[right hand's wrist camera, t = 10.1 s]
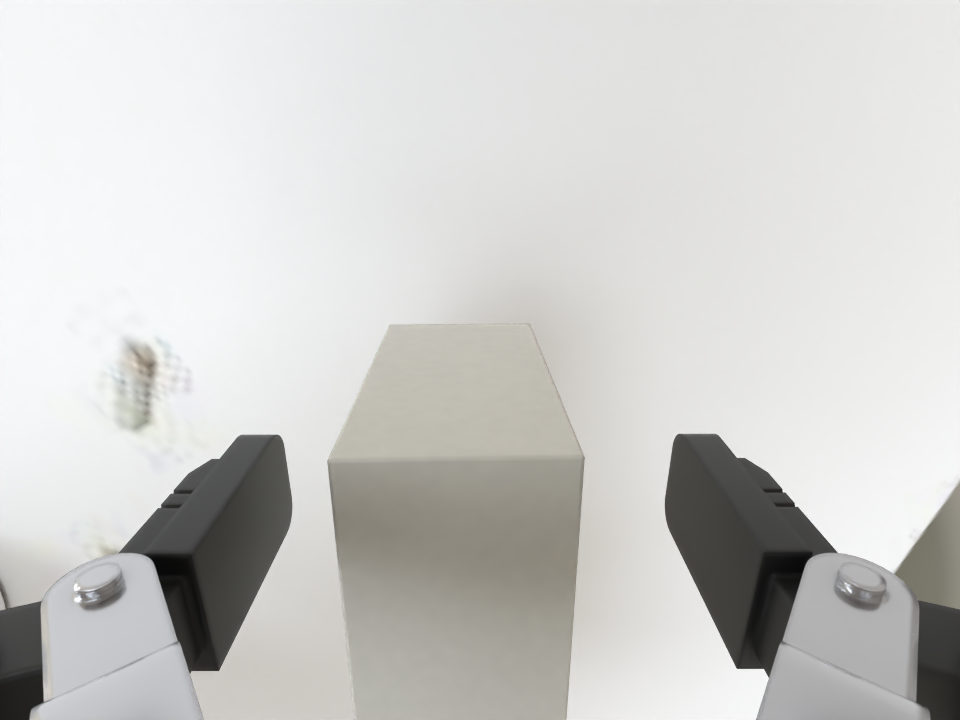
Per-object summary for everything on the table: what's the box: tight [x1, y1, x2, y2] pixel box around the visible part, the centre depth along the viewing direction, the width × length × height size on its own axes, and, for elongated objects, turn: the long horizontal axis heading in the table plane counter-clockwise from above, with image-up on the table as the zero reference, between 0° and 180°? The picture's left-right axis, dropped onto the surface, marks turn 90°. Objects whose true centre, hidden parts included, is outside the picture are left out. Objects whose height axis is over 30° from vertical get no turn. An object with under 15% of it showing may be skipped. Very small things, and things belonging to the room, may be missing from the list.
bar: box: [327, 324, 585, 720], centre depth 19 cm, size 23×5×9 cm, turn 0°
